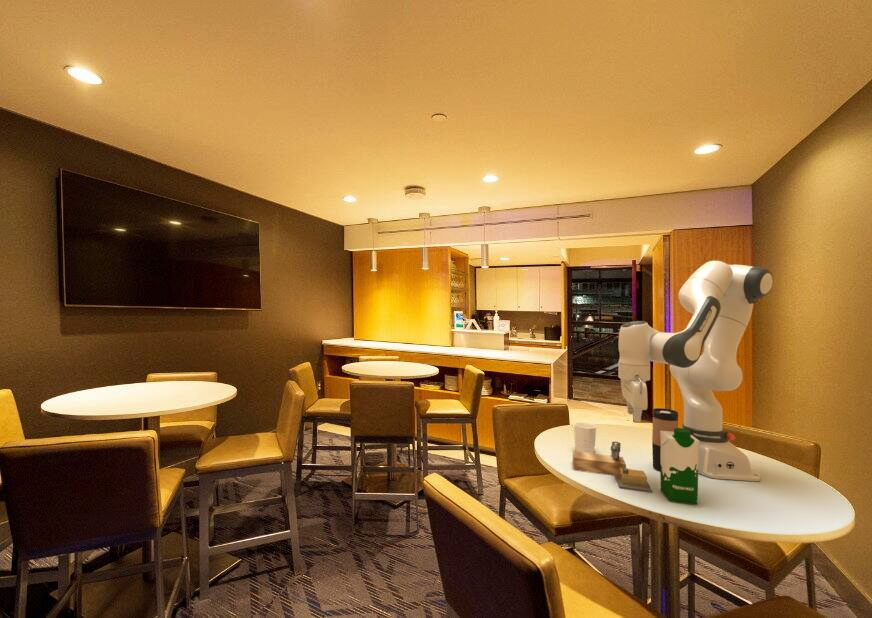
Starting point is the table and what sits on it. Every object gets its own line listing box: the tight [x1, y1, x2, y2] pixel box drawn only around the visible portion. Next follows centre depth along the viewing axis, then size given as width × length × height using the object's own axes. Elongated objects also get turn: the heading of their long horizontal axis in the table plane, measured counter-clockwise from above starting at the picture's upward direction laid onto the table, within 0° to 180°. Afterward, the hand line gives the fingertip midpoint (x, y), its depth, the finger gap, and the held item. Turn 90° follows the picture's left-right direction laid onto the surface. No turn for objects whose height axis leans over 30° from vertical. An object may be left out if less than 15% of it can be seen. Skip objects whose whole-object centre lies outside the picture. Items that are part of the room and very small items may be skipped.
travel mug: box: [651, 407, 679, 472], centre depth 131 cm, size 8×8×20 cm
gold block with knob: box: [619, 467, 648, 487], centre depth 118 cm, size 7×5×4 cm
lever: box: [610, 441, 622, 458], centre depth 125 cm, size 10×3×4 cm, turn 150°
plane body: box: [572, 450, 627, 476], centre depth 129 cm, size 16×7×7 cm, turn 73°
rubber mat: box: [614, 475, 654, 494], centre depth 118 cm, size 9×9×1 cm
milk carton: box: [659, 427, 699, 506], centre depth 110 cm, size 9×9×20 cm
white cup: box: [573, 422, 597, 454], centre depth 147 cm, size 8×8×10 cm
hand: (633, 417), depth 119 cm, fingers open, 8 cm apart
